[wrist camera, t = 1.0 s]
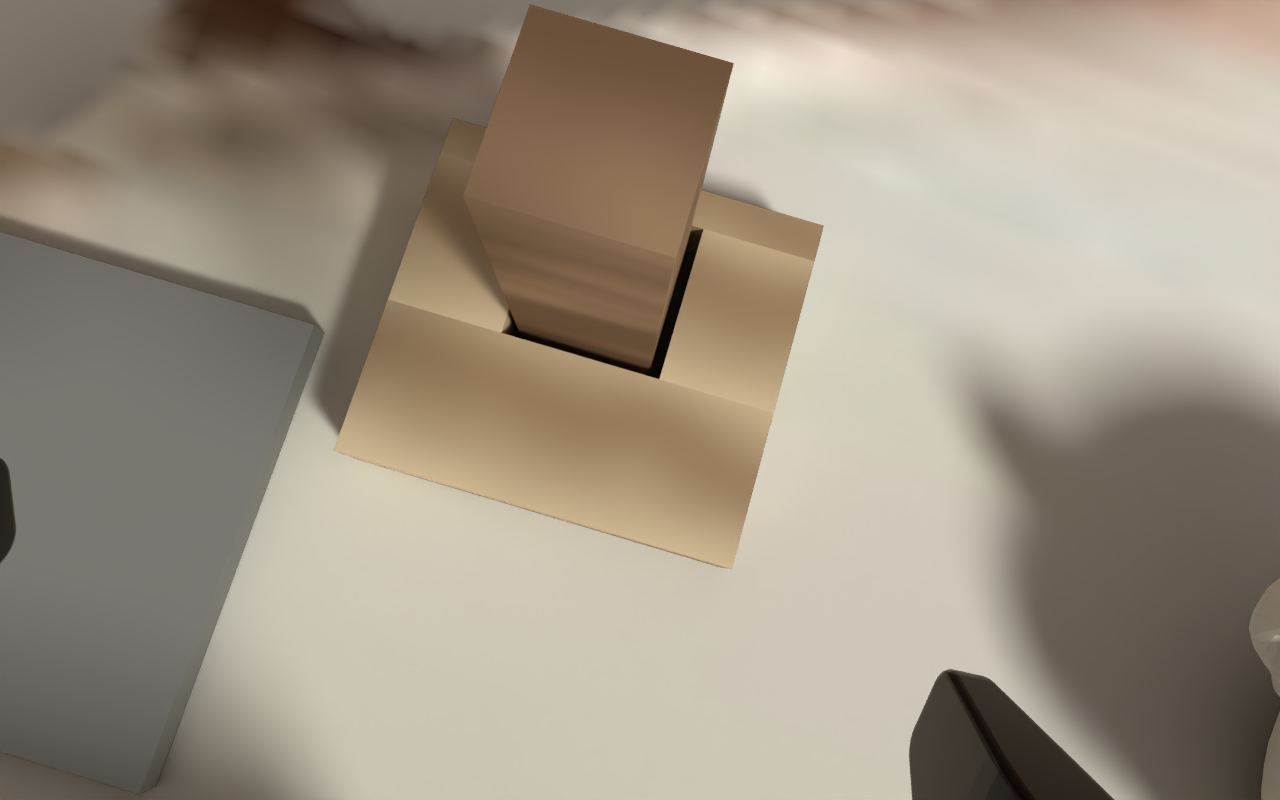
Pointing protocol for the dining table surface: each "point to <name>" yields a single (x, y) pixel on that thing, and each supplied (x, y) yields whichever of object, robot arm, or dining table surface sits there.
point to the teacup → (1276, 640)
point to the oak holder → (585, 379)
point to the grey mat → (125, 497)
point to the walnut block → (594, 183)
